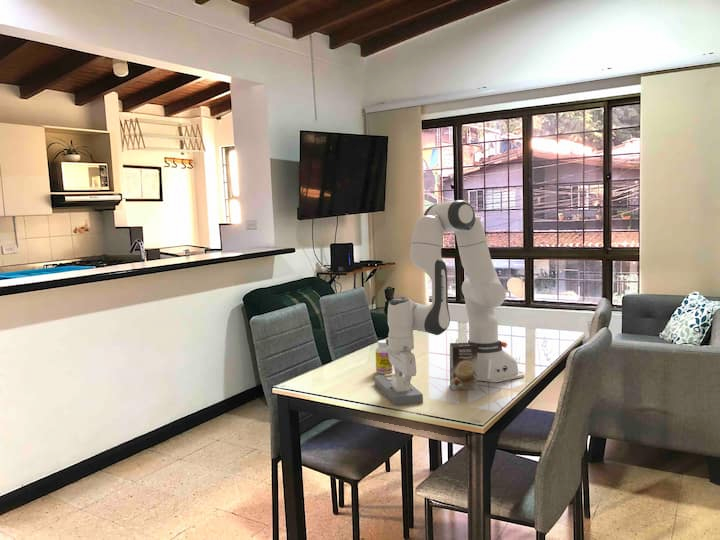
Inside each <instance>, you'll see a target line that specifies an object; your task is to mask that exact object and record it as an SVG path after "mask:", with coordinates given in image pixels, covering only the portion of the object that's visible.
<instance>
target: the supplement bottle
mask: <svg viewBox="0 0 720 540" xmlns="http://www.w3.org/2000/svg"><path fill="white" fill-rule="evenodd" d="M387 347H388V345H386V339H380V340H378V341H377V347H376V348H375V371H376V373H377V374H380V375H384V374H392V372H393V365H392V364H391V363H390V362H389V358H388V348H387Z"/></svg>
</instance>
